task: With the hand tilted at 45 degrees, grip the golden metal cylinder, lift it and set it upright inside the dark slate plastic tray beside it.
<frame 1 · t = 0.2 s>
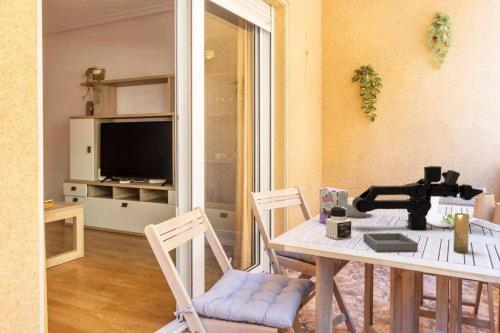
hand: (476, 189, 167), 17 cm above the table, tool horizontal, fingers open, 9 cm apart
tray: (389, 246, 142), on the table
medicine bottle: (338, 237, 156), on the table
candy box: (332, 225, 178), on the table
bowl: (355, 216, 197), on the table
golden metal cylinder: (460, 251, 135), on the table
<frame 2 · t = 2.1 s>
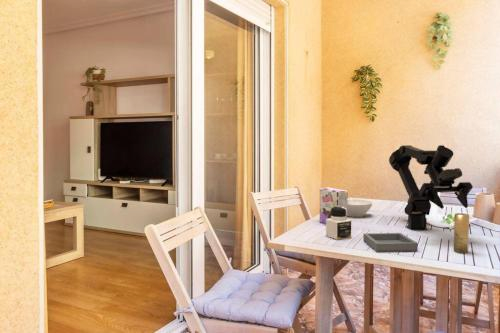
hand: (454, 207, 141), 14 cm above the table, tool tilted 45°, fingers open, 9 cm apart
nothing on the table moved.
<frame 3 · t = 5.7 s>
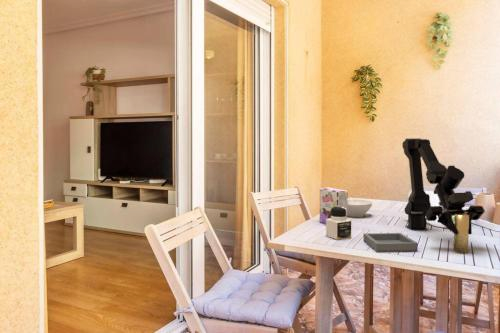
hand: (463, 233, 133), 7 cm above the table, tool tilted 45°, fingers closed on golden metal cylinder, 4 cm apart
golden metal cylinder: (460, 251, 135), on the table, touching gripper
everything else where it was.
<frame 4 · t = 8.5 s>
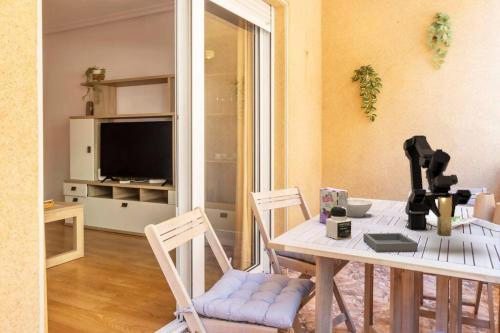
hand: (445, 216, 133), 12 cm above the table, tool tilted 45°, fingers closed on golden metal cylinder, 4 cm apart
golden metal cylinder: (444, 234, 134), point 6 cm above the table, touching gripper
everything else where it was.
when the fingers open (8 cm above the table, at t = 11.7 s): golden metal cylinder drops 1 cm, resting on tray.
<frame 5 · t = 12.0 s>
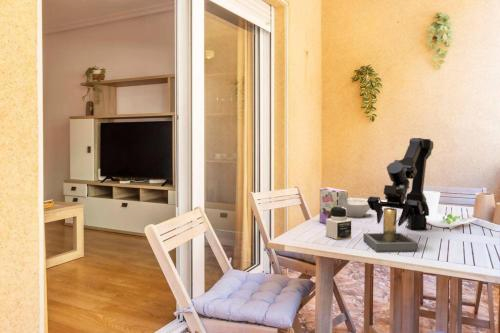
hand: (388, 224, 140), 8 cm above the table, tool tilted 45°, fingers open, 7 cm apart
golden metal cylinder: (389, 244, 142), point 1 cm above the table, touching tray
everything else where it was.
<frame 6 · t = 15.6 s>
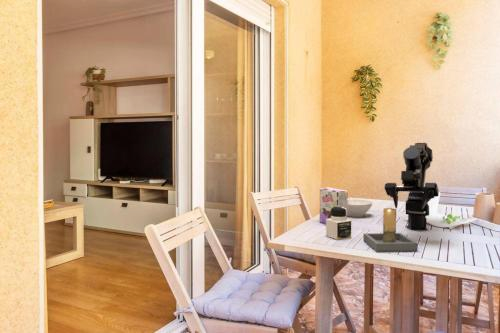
hand: (408, 208, 146), 13 cm above the table, tool tilted 40°, fingers open, 9 cm apart
nothing on the table moved.
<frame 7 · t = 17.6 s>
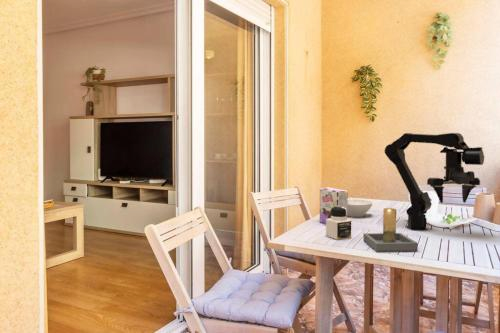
hand: (452, 202, 157), 13 cm above the table, tool pointing down, fingers open, 9 cm apart
nothing on the table moved.
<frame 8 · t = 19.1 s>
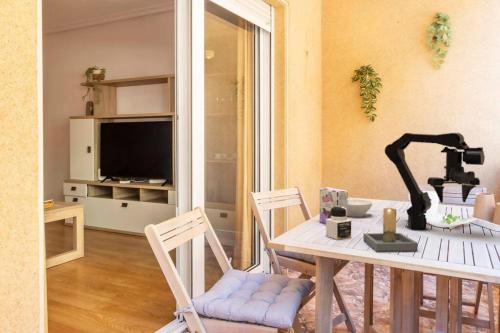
hand: (452, 202, 158), 13 cm above the table, tool pointing down, fingers open, 9 cm apart
nothing on the table moved.
at the end: golden metal cylinder inside the target area on the tray (0.0 cm from its centre), point 0.6 cm above the tray's base; golden metal cylinder tilted 0°; the gripper is holding nothing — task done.
